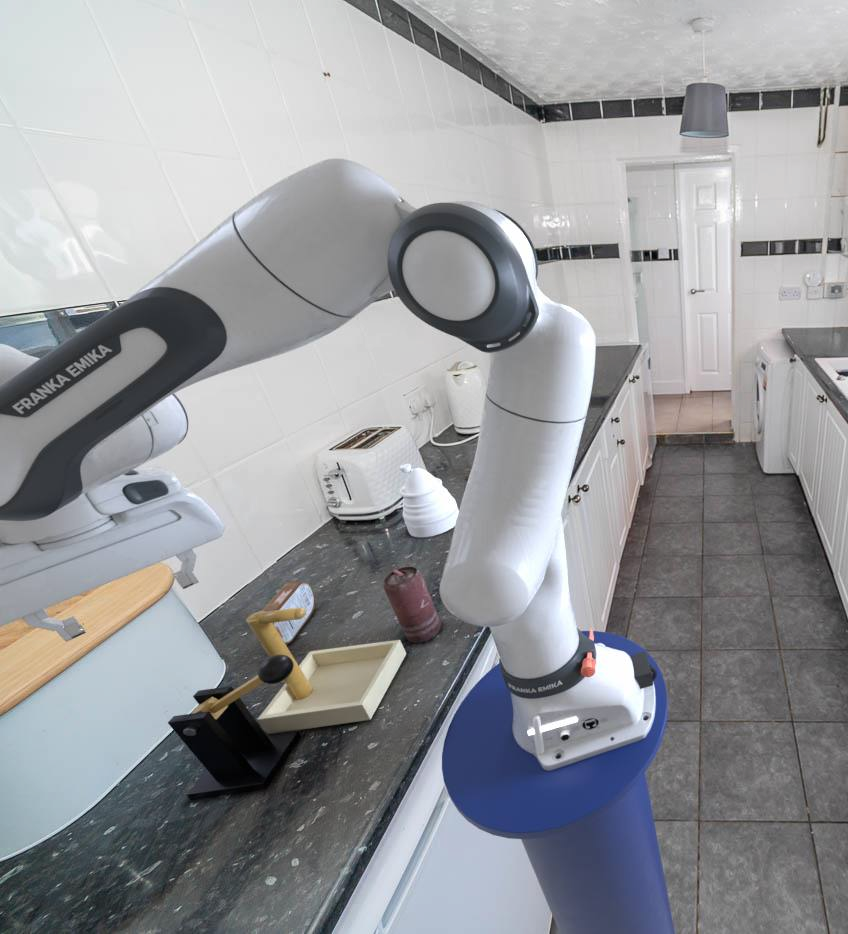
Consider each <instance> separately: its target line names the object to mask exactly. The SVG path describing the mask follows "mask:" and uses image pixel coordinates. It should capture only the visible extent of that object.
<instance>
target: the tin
mask: <svg viewBox="0 0 848 934" xmlns="http://www.w3.org/2000/svg"><path fill="white" fill-rule="evenodd" d="M316 601H317V599H316V594H315V592H314V588H313V587H312V585H311V582H309V581H307V580H298V581H288V582H286V583H284V585H283V586H282V587H281V588H280V589H279V590H278V592H277V593H276V594H275V595H274V596H273V597H272V598H271V600H269V601H268V602H267V604H266V605H265V606H264V607H263V608H262V609H261V611H265V612H267V611H275V610H283V609H291V608H304V609H305V610H306V615H305V616H304V617H303V618H302V619H298V620H291V621H283V622H275V623H273V624H274V626H275V628H276V629H277V631H278V633H279V634H280V636H281V638H282V639H283V641H284V643H285V644H286V646H287V645H289V644H291V642H292V641H293V640H294V639H295V638H296V636H297V635H298V633H299V632H300V631H301V629H302V628H303V627H304V626H305V624H306V623H307V621H309V619H310V617H311V616H312V615H313V613H314V610H315V607H316ZM257 641H258V643H259V645H261V643H260V642H259V640H258V639H257Z"/></svg>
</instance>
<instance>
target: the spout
mask: <svg viewBox="0 0 848 934" xmlns="http://www.w3.org/2000/svg"><path fill="white" fill-rule="evenodd" d="M305 615H306V610H305V609H304V608H291V609H283V610H275V611H267V612H265V611H262V610H258V611H255V612H253V613H251V614H250V615H248V617H247V618H246V620H245V621H246V623H247V624H248V626H249V628H250V629H251V631H252V632H253V634H254V636H255V637H256V639H257V641H258V640H259V641H258V643H259V642H260V643H261V644H260V643H259V644H260V646H261V647H262V648H263V650H264V651H265V653H266V654H267V656H268V658H269V657H271V656H274V655H286V656H288V657H290V658H291V659H292V661H293V664H294V667H293V671H292V673H291V674H290V675H289V676H288V677H287V678H286V679H285V680H283V681H284V683H286V684H287V686H288V687H289V689H290V690H291V692H292V693H293V695H294V697H295V698H296V699H297V700H301V699H304V698H306V697H308V696H309V695H310V694H311V693H312V691H313V689H312V687H311V685H310V684H309V682H308V680H307V679H306V677H305V675H304V674H303V672H302V671H301V669H300V667H299V664H298V662H297V661H296V659H295V658H294V655H293V654H292V653H291V652H292V651H290V649H289V648H288V646H287V645H286V644H285V643H284V641H283V639H282V638H281V636H280V634H279V633H278V631H277V629H276V628H275V626H274V624H273V623H275V622H283V621H291V620H298V619H302V618H303V617H304V616H305Z"/></svg>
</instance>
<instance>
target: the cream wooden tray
mask: <svg viewBox="0 0 848 934" xmlns="http://www.w3.org/2000/svg"><path fill="white" fill-rule="evenodd" d="M406 655H407V652H406V649H405V648H404V644H403V643H402V641H401V639H396V640H386V641H377V642H371V643H364V644H363V643H362V644H356V645H348V646H341V647H334V648H326V649H317V650H311V651H309V652H308V653H307V654H306V655H305V657H304V658H303V660H302V661H301V663H300V664H298V666H299V667H300V669H301V671H302V672H303V674H304V675H305V677H306V679H307V680H308V682H309V684H310V685H311V687H312V689H313V691H312V693H311V694H310V695H309V696H308V697H306V698H304V699H301V700H297V699H296V698H295V697H294V695H293V693H292V692H291V690H290V689H289V687H288V686H287V684H286V682H284V684H283V685H282V687H281V688H280V690H279V691H278V692H277V693H276V695H274V697H273V698H272V700H271V701H270V702H269V704H268V705H267V706H266V707H265V709H264V710H263V712H262V713H261V714H260V715H259V717H258V718H257V719H256V721H257V723H258V724H259V725H260V727H261V728H262V730H263V731H264V732H265V734H266V735H274V734H280V733H287V732H294V731H301V730H310V729H317V728H323V727H330V726H338V725H342V724H350V723H358V722H364V721H370V720H372V718H373V715H374V714H375V712H376V711H377V708H378V707H379V705H380V703H381V702H382V699H384V696H385V694H386V692H387V691H388V689H389V687H390V685H391V683H392V681H393V680H394V678H395V676H396V674H397V672H398V670H399V669H400V668H401V667H400V666H401V665H402V663H403V661H404V659H405V658H406Z"/></svg>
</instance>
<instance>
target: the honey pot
mask: <svg viewBox="0 0 848 934" xmlns="http://www.w3.org/2000/svg"><path fill="white" fill-rule="evenodd" d="M399 469H400V471H401V472H402V473H405V474H407V476H406V480H405V483H404V485H403V486H402V487H401V488H400V489H399V491H398V494H399V495H400V497H402V498H403V500H402V518H403V520H404V524H405V526H406V529H407V532H408V534H409V535H410V536H412V537H414V538H429V537H430V538H431V537H434V536H438V535H441V534H443V533H445V532H447V531H450V530H451V529H454V528H455V524H456V520H457V517H458V513H459V506H458V505H457V502H456V499H455V498H454V496H452V494H451V493H450V492H449V491H448V489H447V488H446V487H444V485H443V481H442V479H440V477H439V478H438V477H435V476H434V475H433V474H432V473H430V472H429V471H427V470H426V469H423V468H421V467H415V468H412V464H411V463H404V464H401V465H400V466H399Z"/></svg>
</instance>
